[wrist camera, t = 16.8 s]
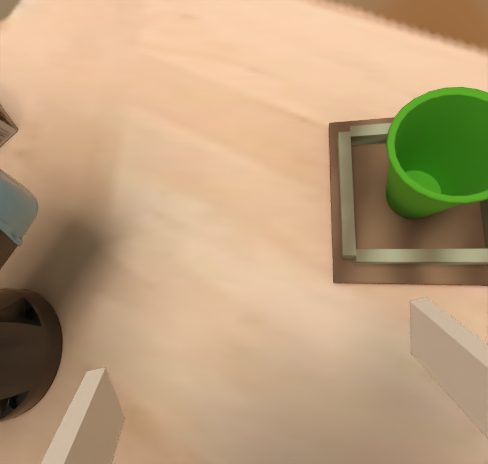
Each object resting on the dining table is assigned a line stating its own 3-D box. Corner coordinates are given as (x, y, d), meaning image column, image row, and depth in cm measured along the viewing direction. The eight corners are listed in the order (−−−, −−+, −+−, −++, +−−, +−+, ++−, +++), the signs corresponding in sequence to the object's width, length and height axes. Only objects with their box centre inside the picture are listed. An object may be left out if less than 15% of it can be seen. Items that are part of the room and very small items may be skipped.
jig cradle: (333, 282, 34) (335, 280, 31) (328, 128, 38) (330, 112, 35) (508, 285, 31) (529, 283, 28) (482, 116, 35) (498, 97, 32)
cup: (481, 214, 32) (562, 166, 21) (392, 252, 32) (428, 224, 22) (431, 140, 34) (481, 65, 24) (350, 177, 35) (364, 120, 25)
